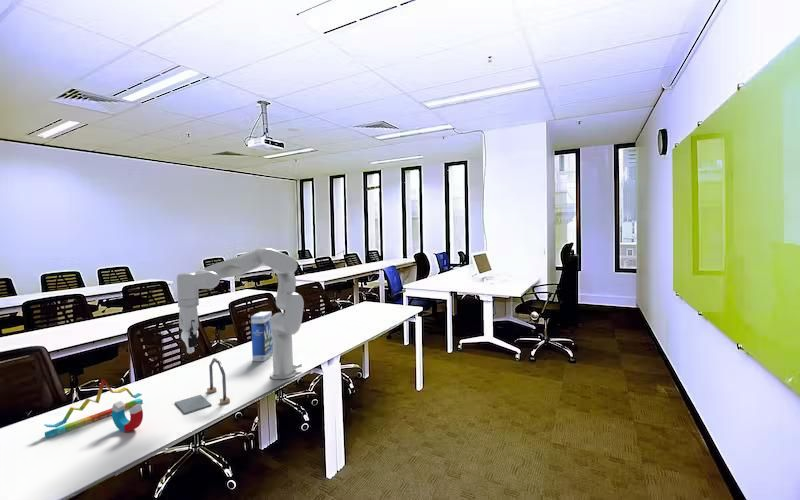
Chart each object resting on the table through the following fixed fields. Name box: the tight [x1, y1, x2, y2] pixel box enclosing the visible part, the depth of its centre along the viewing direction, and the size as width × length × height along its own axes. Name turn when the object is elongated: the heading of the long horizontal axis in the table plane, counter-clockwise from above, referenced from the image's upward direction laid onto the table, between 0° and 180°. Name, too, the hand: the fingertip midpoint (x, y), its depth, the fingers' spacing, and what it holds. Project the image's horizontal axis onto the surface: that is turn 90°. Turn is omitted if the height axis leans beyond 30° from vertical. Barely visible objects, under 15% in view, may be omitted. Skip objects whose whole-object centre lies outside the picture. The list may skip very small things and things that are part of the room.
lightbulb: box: [180, 329, 199, 354], centre depth 153 cm, size 6×6×11 cm
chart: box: [43, 378, 144, 439], centre depth 144 cm, size 30×3×15 cm, turn 150°
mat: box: [174, 394, 212, 415], centre depth 154 cm, size 10×14×1 cm
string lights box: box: [250, 311, 273, 362], centre depth 213 cm, size 13×8×26 cm, turn 179°
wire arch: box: [206, 357, 231, 405], centre depth 161 cm, size 3×19×17 cm, turn 45°
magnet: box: [111, 400, 144, 433], centre depth 134 cm, size 12×3×10 cm, turn 74°
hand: (190, 344), depth 153 cm, fingers closed on lightbulb, 6 cm apart
